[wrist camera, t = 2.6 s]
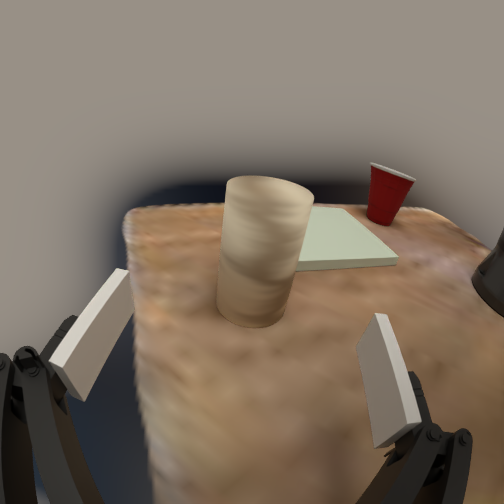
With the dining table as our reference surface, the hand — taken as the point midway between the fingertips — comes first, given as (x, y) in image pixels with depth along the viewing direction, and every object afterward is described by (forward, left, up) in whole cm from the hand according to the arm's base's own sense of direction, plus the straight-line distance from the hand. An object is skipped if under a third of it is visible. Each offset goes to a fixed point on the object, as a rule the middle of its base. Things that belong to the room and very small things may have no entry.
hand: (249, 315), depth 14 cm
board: (-20, -24, -9) cm, 33 cm away
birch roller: (-4, -10, -9) cm, 14 cm away
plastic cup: (-39, -32, -9) cm, 51 cm away
